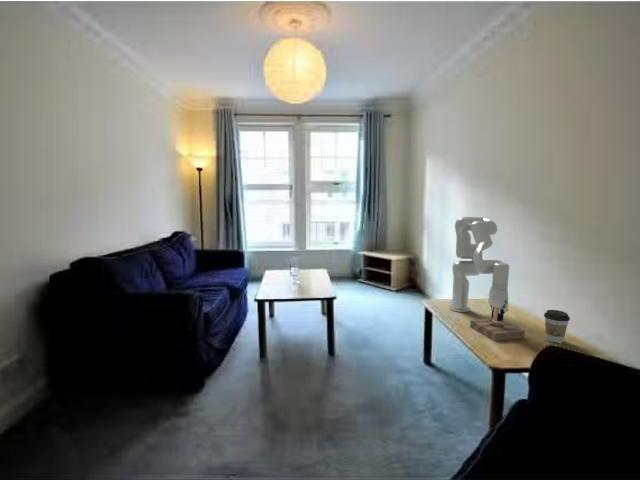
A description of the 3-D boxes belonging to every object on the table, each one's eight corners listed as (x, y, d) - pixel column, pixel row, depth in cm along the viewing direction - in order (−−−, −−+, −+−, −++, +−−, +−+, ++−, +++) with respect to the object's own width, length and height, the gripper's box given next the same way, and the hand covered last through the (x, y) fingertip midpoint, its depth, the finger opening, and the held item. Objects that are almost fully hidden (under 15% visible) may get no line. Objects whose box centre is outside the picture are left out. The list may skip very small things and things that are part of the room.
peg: (490, 327, 207) (492, 302, 206) (497, 326, 208) (499, 302, 206) (495, 330, 203) (497, 304, 201) (502, 329, 204) (504, 304, 202)
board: (470, 327, 214) (470, 320, 213) (497, 324, 218) (498, 318, 217) (494, 340, 194) (494, 333, 194) (524, 338, 199) (524, 330, 198)
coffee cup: (540, 341, 194) (543, 313, 192) (542, 334, 204) (545, 307, 202) (567, 347, 188) (570, 317, 186) (567, 339, 197) (570, 311, 195)
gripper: (483, 282, 210) (481, 314, 212) (504, 290, 194) (501, 325, 196) (495, 282, 212) (492, 314, 214) (517, 289, 196) (514, 324, 198)
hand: (497, 319), depth 205 cm, fingers closed on peg, 4 cm apart
